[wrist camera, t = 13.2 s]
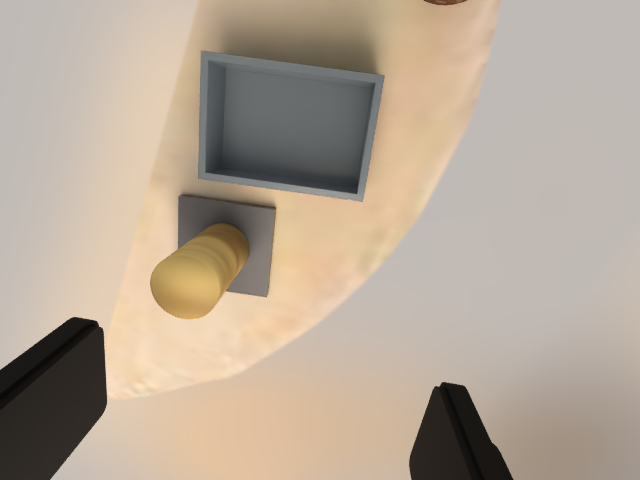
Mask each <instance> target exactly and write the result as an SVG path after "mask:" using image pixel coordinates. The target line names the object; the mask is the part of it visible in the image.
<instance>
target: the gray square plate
mask: <svg viewBox="0 0 640 480" xmlns="http://www.w3.org/2000/svg"><path fill="white" fill-rule="evenodd" d="M275 215H276V208H271V207H264V206H257V205H250V204H243V203H236V202H229V201H221V200H214V199H207V198H200V197H193V196H186V195H180V196H179V210H178V249H179V248H180V247H182V246H183V245H185V244H186V243H187V242H189V241H190V240H191V239H193V238H194V237H195V236H197V235H198V234H199V233H201V232H202V231H204V230H205V229H206V228H208V227H209V226H211V225H213V224H217V223H227V224H230V225H233V226H235V227H237V228H238V229H240V230H241V231H242V232H243V233H244V235H245V236H246V238H247V240H248V242H249V247H250V253H249V257H248V260H247V261H246V263H245V264H244V266H243V267H242V269H241V270H240V271H239V273H238V274H237V276H236V277H235V278H234V280H233V281H232V283H231V284H230V285H229V287H228V288H227V290H226V291H228V292H234V293H241V294H248V295H255V296H262V297H267V295H268V289H269V278H270V268H271V257H272V247H273V236H274V225H275Z"/></svg>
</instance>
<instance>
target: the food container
mask: <svg viewBox="0 0 640 480" xmlns="http://www.w3.org/2000/svg"><path fill="white" fill-rule="evenodd" d="M424 1H426V2H429V3H432V4H436V5H453V4H457V3H461V2H464V1H466V0H424Z"/></svg>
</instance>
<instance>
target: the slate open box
mask: <svg viewBox="0 0 640 480" xmlns="http://www.w3.org/2000/svg"><path fill="white" fill-rule="evenodd" d="M384 76H385V75H377V74H370V73H362V72H355V71H348V70H340V69H333V68H326V67H318V66H311V65H303V64H296V63H289V62H281V61H274V60H267V59H259V58H252V57H244V56H237V55H230V54H222V53H215V52H208V51H201V77H200V121H199V164H198V179H205V180H212V181H219V182H226V183H233V184H240V185H247V186H254V187H262V188H269V189H276V190H283V191H290V192H297V193H304V194H311V195H318V196H325V197H332V198H339V199H346V200H353V201H360V202H363V198H364V192H365V187H366V181H367V175H368V169H369V163H370V158H371V152H372V146H373V140H374V134H375V129H376V123H377V117H378V111H379V105H380V100H381V94H382V88H383V82H384Z"/></svg>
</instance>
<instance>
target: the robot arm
mask: <svg viewBox="0 0 640 480" xmlns="http://www.w3.org/2000/svg"><path fill="white" fill-rule="evenodd" d="M106 405H107V390H106V371H105V351H104V332H103V329H102V328H101V327H99V325H98V323H97V321H94V320H89V319H83V318H78V317H73V318H71V319H69V320H67V321H66V322H65V323H63V324H62V325H61V326H59V327H58V328H57V329H55V330H54V331H52V332H51V333H50V334H48V335H47V336H46V337H44V338H43V339H42V340H40V341H39V342H38V343H36V344H35V345H34V346H32V347H31V348H29V349H28V350H27V351H25V352H24V353H23V354H21V355H20V356H19V357H17V358H16V359H15V360H13V361H12V362H11V363H9V364H8V365H6V366H5V367H4V368H2V369H1V370H0V480H50V479H51V478H52V476H53V475H54V474H55V473H56V472H57V470H58V469H59V468H60V466H62V464H63V463H64V461H66V459H67V458H68V457H69V456H70V454H71V453H72V452H73V451H74V449H75V448H76V447H77V446H78V444H79V443H80V442H81V441H82V439H83V438H84V437H85V436H86V434H87V433H88V432H89V431H90V430H91V428H92V427H93V426H94V424H95V423H96V422H97V421H98V420H99V418H100V417H101V416H102V414H103V413H104V411H105V408H106ZM409 466H410V474H411V479H412V480H513V478H512V476H511V474H510V472H509V469H508V468H507V465H506V463H505V461H504V459H503V457H502V455H501V453H500V451H499V450H498V448H497V447H496V446H495V445H494V444H493V443H492V442H491V440H490V438H489V436H488V434H487V432H486V429H485V427H484V425H483V423H482V421H481V419H480V416H479V414H478V412H477V410H476V408H475V406H474V404H473V402H472V399H471V397H470V395H469V393H468V391H467V389H466V387H465V386H463V385H457V384H452V383H446V382H442V383H441V385H440V387H437V386H436V387H434V389H433V391H432V394H431V397H430V400H429V403H428V406H427V408H426V411H425V415H424V417H423V420H422V423H421V426H420V429H419V431H418V434H417V437H416V440H415V443H414V446H413V449H412V452H411V455H410V461H409Z"/></svg>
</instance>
